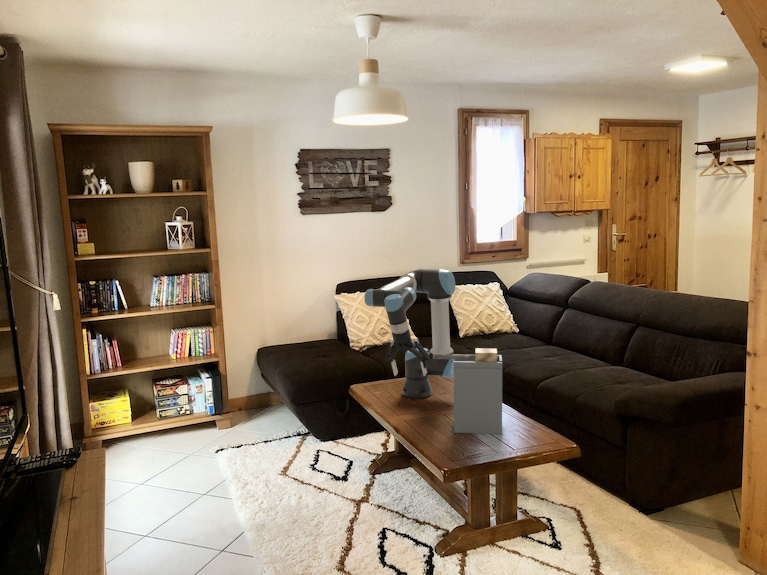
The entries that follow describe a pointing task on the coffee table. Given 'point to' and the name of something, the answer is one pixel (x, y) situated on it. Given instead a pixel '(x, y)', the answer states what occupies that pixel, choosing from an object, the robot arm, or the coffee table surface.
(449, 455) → the coffee table surface
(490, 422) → the shelf
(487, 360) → the maple block
